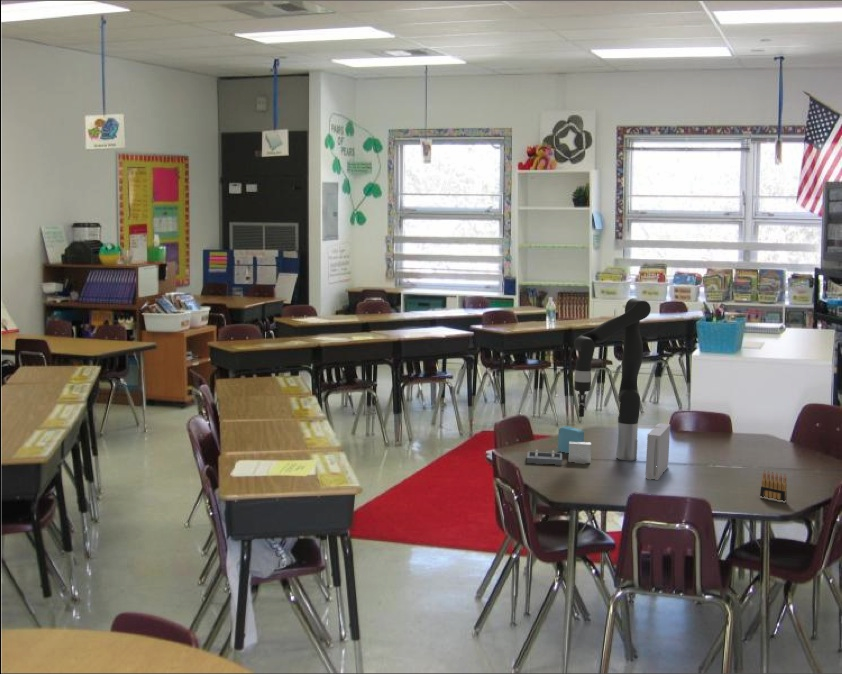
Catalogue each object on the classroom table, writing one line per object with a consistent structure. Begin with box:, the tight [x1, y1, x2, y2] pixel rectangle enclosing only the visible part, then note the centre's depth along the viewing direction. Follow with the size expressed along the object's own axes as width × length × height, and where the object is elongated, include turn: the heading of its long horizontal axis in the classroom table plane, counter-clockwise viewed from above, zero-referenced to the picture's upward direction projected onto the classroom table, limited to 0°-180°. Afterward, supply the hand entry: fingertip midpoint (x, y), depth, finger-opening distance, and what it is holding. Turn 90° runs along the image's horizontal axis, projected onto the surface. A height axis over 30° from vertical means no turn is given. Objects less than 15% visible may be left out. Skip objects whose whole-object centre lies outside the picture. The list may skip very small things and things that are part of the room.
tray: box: [526, 449, 563, 466], centre depth 518 cm, size 16×13×4 cm
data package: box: [557, 426, 585, 454], centre depth 535 cm, size 12×4×12 cm, turn 43°
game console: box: [644, 422, 671, 481], centre depth 500 cm, size 6×27×20 cm, turn 158°
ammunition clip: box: [759, 469, 788, 501], centre depth 459 cm, size 11×2×12 cm, turn 49°
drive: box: [568, 441, 592, 464], centre depth 518 cm, size 10×4×9 cm, turn 83°
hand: (581, 414), depth 515 cm, fingers open, 8 cm apart
